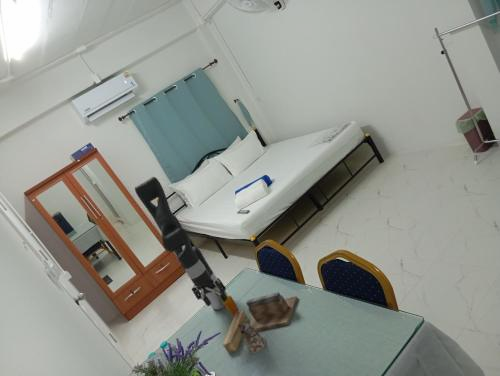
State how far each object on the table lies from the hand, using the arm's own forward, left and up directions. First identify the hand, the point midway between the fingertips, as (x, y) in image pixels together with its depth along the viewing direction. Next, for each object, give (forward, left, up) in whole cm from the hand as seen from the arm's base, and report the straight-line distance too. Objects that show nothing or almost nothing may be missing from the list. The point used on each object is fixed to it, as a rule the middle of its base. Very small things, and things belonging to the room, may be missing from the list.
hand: (217, 302), depth 188 cm
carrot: (-6, +13, -18) cm, 23 cm away
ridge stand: (+15, +8, -18) cm, 25 cm away
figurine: (+13, -9, -18) cm, 24 cm away
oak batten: (0, 0, -18) cm, 18 cm away
